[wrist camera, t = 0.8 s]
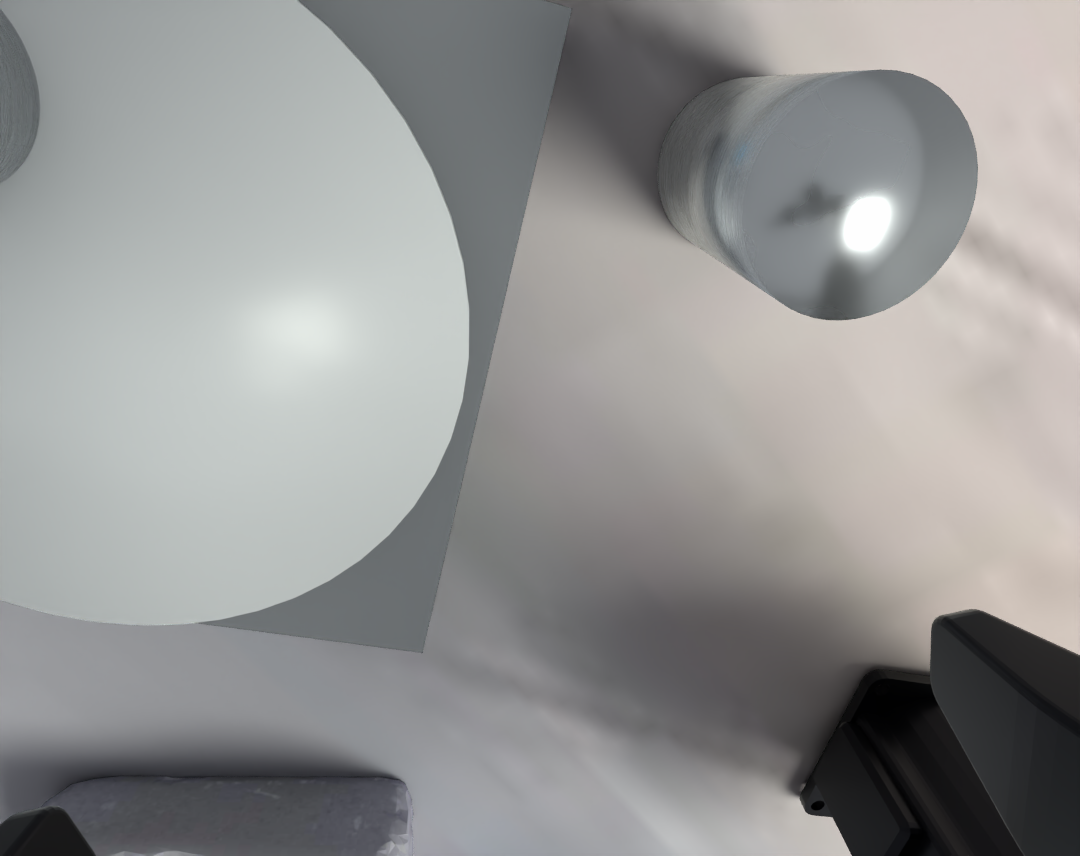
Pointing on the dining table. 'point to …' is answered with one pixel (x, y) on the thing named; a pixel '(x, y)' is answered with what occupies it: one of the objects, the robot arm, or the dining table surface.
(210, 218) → the scale
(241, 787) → the stone block
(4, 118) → the cylinder
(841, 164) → the cylinder
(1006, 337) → the dining table surface
